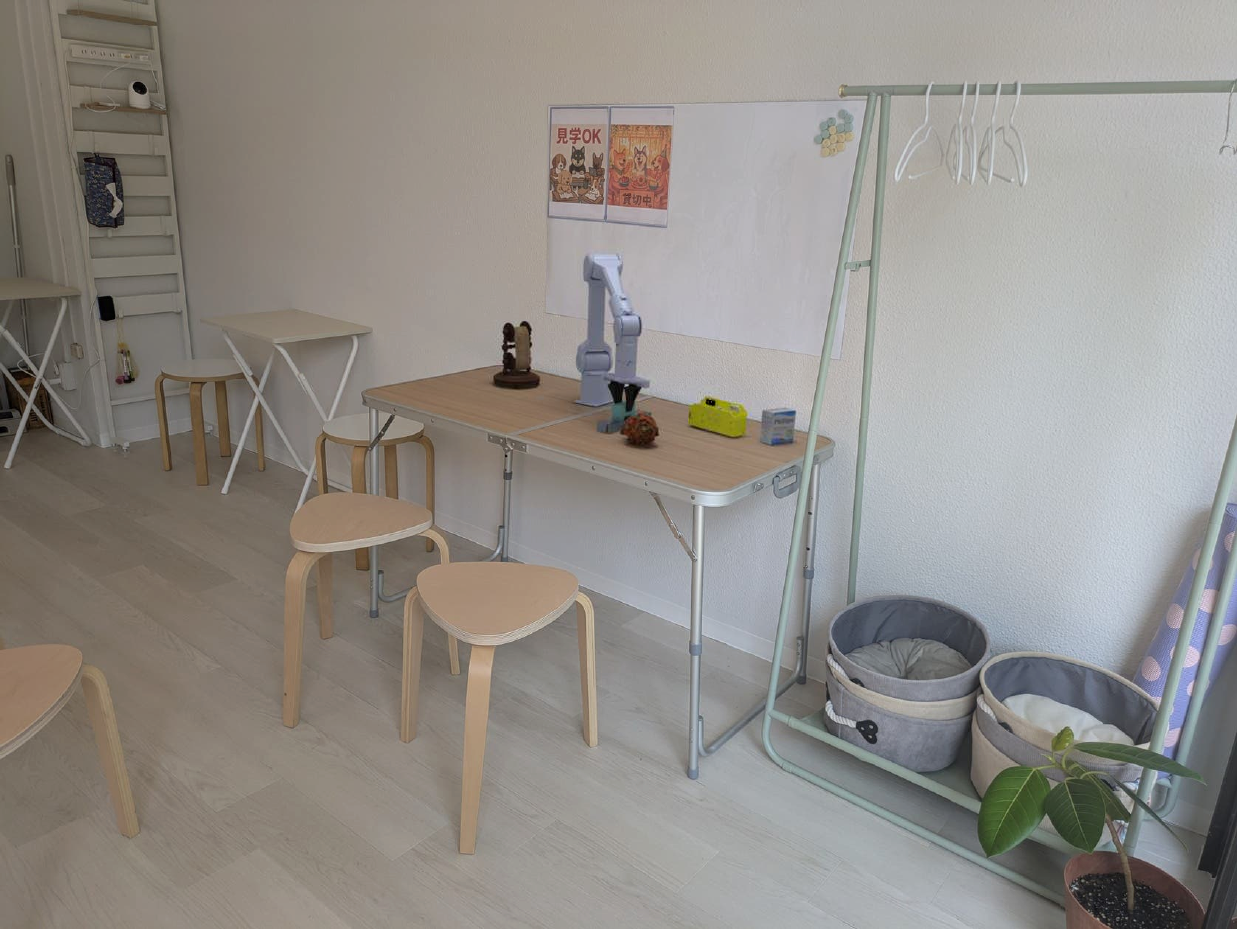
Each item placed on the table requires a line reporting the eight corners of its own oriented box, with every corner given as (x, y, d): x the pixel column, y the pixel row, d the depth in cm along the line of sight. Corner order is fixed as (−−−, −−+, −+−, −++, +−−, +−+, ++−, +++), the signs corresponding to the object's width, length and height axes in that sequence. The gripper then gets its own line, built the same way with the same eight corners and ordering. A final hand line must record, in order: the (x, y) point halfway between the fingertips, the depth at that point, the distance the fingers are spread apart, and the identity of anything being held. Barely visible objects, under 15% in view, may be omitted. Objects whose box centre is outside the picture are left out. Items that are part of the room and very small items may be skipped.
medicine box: (770, 445, 236) (773, 413, 233) (759, 441, 240) (762, 409, 237) (793, 442, 240) (796, 410, 237) (781, 438, 244) (785, 406, 241)
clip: (625, 421, 253) (626, 400, 251) (634, 423, 251) (635, 402, 249) (610, 426, 247) (611, 404, 245) (620, 428, 246) (621, 406, 244)
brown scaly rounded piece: (651, 456, 227) (625, 450, 238) (673, 433, 230) (647, 429, 240) (633, 431, 224) (607, 426, 234) (656, 408, 226) (630, 404, 236)
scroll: (513, 391, 282) (514, 326, 276) (483, 383, 291) (483, 320, 285) (549, 385, 292) (551, 323, 286) (519, 377, 302) (520, 316, 296)
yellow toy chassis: (746, 436, 244) (748, 406, 241) (732, 440, 240) (735, 409, 238) (700, 424, 255) (702, 394, 252) (687, 427, 251) (689, 397, 248)
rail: (638, 417, 258) (638, 409, 257) (650, 420, 256) (651, 412, 255) (596, 431, 242) (597, 422, 241) (609, 433, 240) (610, 425, 239)
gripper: (594, 358, 245) (593, 408, 249) (640, 366, 237) (637, 417, 241) (610, 355, 250) (608, 403, 254) (655, 362, 243) (652, 412, 247)
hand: (623, 410), depth 248 cm, fingers closed on clip, 3 cm apart
